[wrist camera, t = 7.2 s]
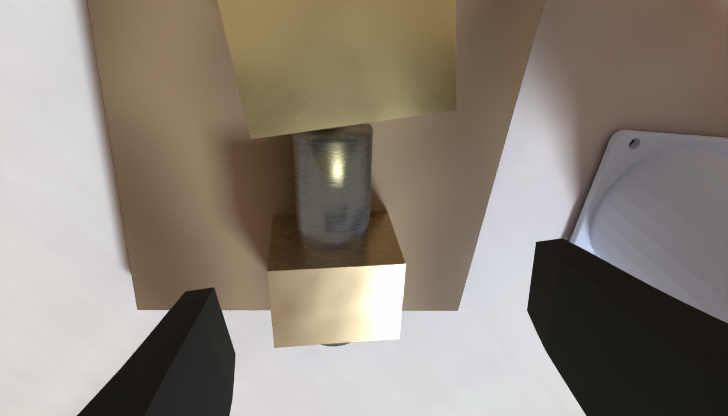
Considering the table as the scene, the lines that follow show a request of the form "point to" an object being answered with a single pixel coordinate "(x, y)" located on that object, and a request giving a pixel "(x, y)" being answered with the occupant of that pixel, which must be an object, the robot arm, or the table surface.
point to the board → (288, 154)
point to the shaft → (334, 248)
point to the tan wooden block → (340, 61)
